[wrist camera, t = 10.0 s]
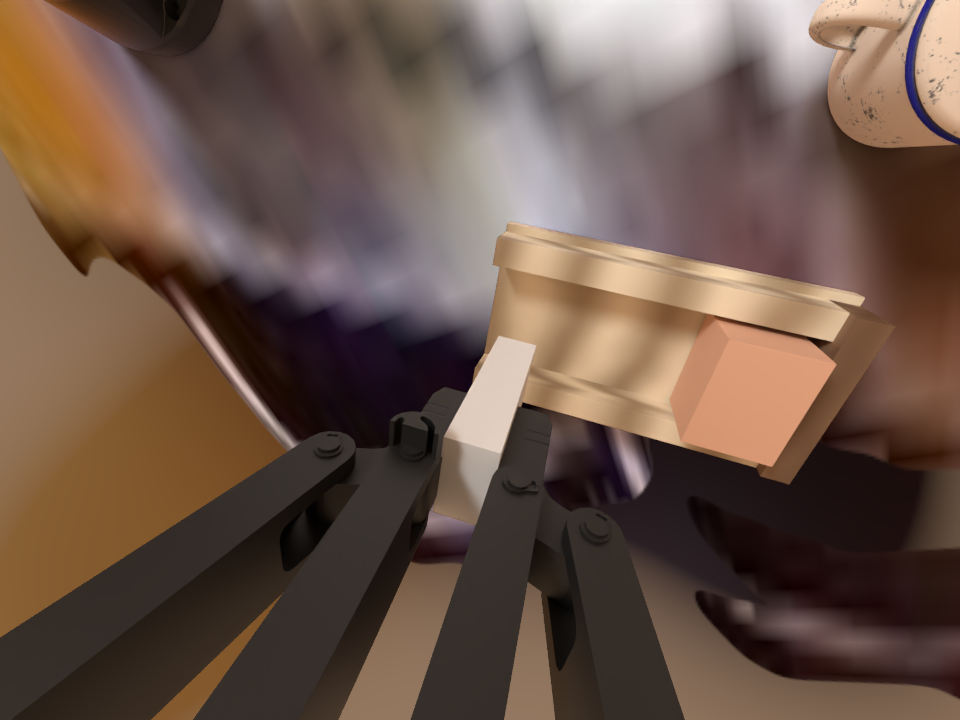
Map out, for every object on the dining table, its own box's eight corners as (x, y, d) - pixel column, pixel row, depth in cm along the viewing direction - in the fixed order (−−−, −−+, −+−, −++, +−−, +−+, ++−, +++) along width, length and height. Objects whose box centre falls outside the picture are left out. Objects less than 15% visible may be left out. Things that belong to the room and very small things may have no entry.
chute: (483, 372, 40) (467, 399, 35) (510, 221, 33) (495, 231, 29) (762, 448, 36) (785, 490, 31) (855, 293, 29) (901, 317, 25)
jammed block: (669, 399, 34) (680, 441, 29) (708, 309, 31) (729, 339, 26) (746, 419, 33) (772, 466, 28) (796, 328, 30) (836, 364, 25)
